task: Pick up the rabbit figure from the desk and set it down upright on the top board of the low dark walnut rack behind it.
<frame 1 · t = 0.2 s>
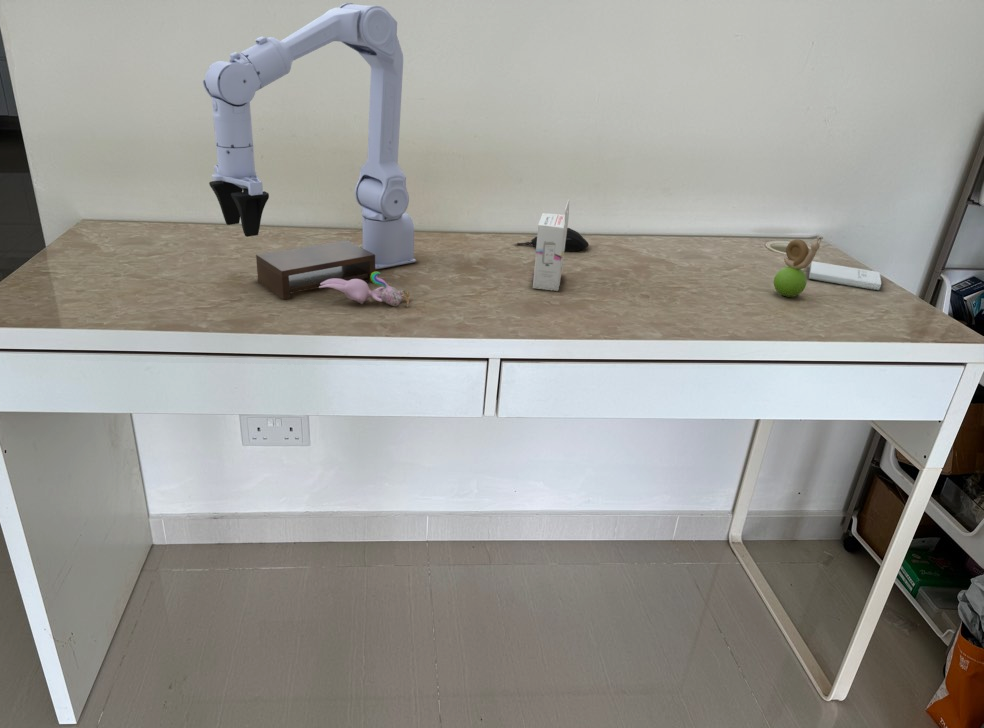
hand: (242, 229, 128), 10 cm above the table, tool pointing down, fingers open, 7 cm apart
rabbit figure: (365, 304, 129), on the table
rack: (317, 281, 137), on the table
snail figurine: (788, 297, 140), on the table
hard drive: (842, 280, 151), on the table
ink cartridge box: (546, 283, 141), on the table
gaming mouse: (552, 247, 161), on the table
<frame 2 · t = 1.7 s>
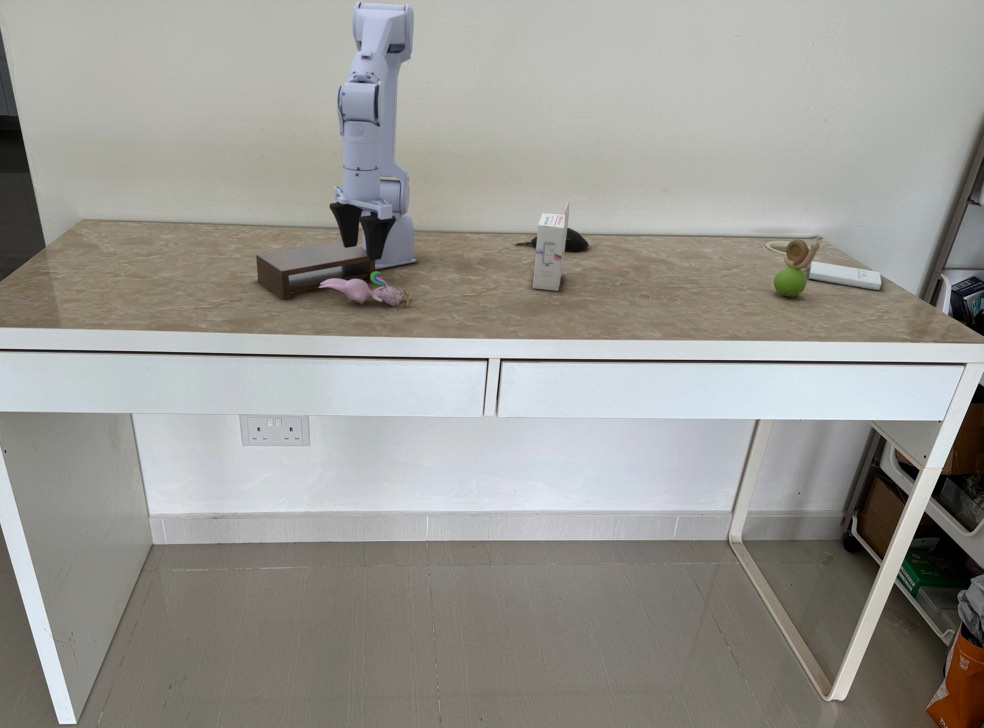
hand: (362, 252, 125), 9 cm above the table, tool pointing down, fingers open, 7 cm apart
nothing on the table moved.
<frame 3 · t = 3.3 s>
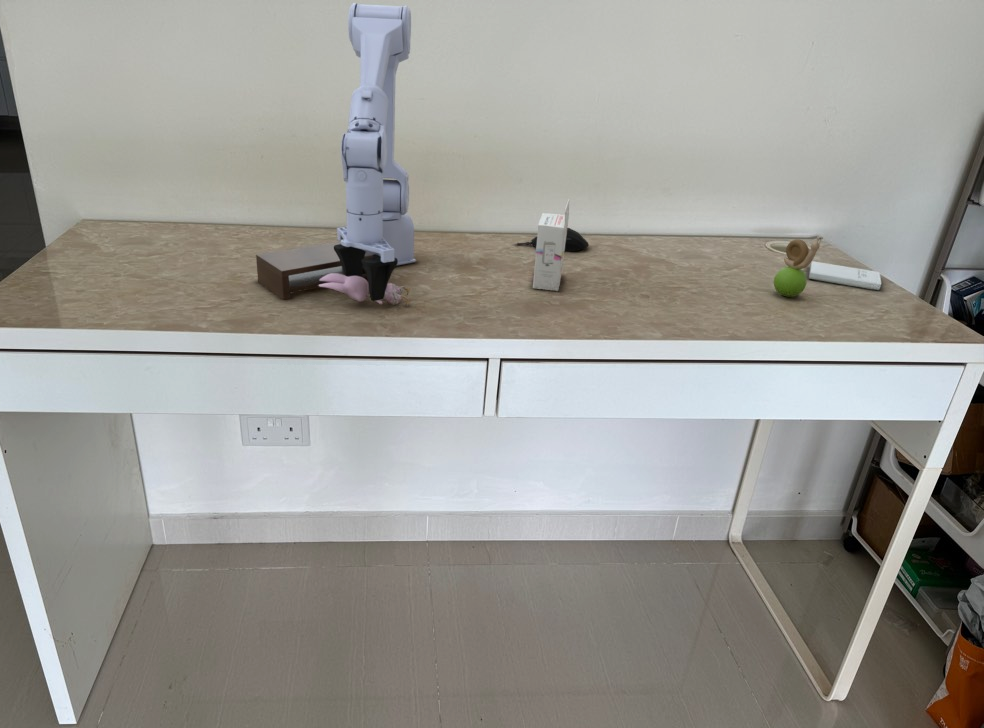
hand: (365, 292, 127), 2 cm above the table, tool pointing down, fingers closed on rabbit figure, 7 cm apart
rabbit figure: (364, 299, 129), on the table, touching gripper
everything else where it was.
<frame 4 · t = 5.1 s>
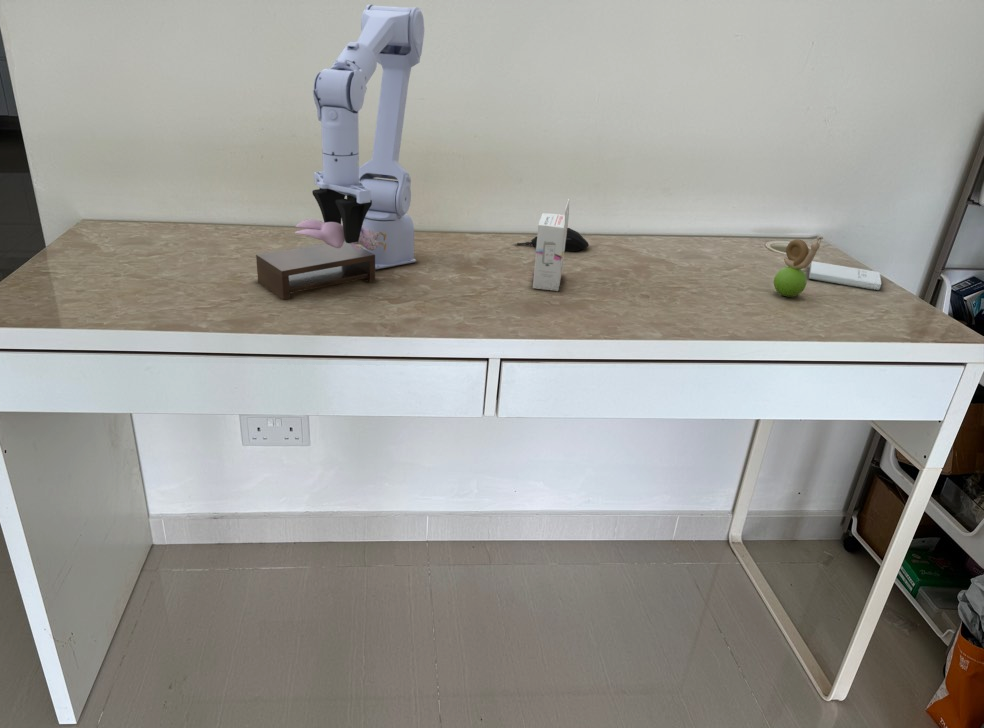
hand: (342, 237, 127), 10 cm above the table, tool pointing down, fingers closed on rabbit figure, 5 cm apart
rabbit figure: (341, 245, 129), point 8 cm above the table, touching gripper
everything else where it was.
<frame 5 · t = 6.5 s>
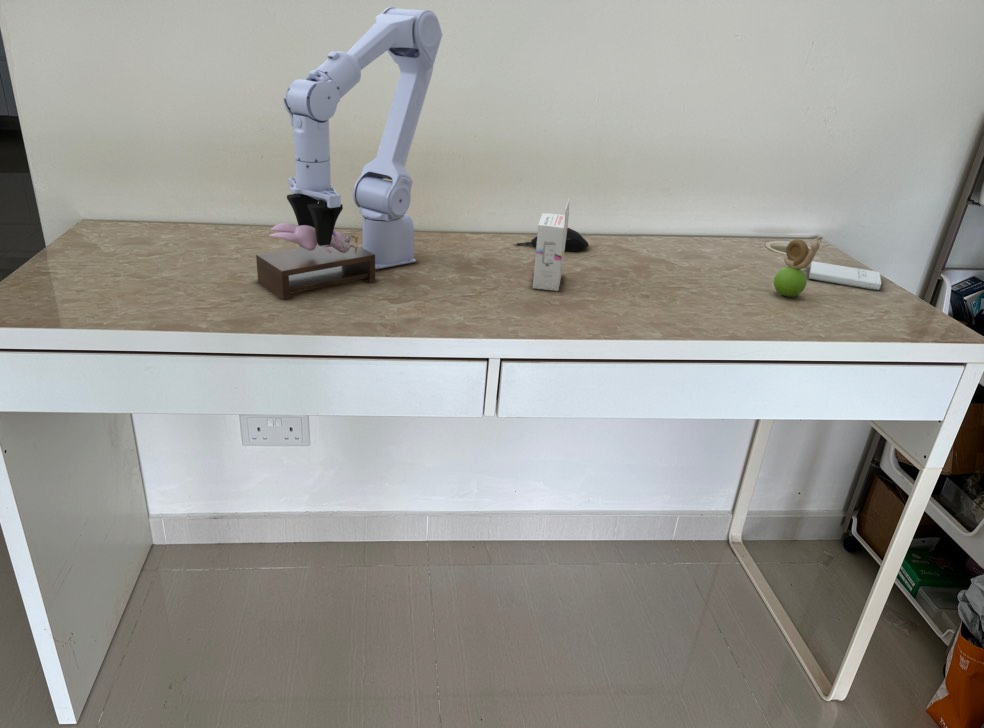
hand: (315, 240, 133), 8 cm above the table, tool pointing down, fingers closed on rabbit figure, 5 cm apart
rabbit figure: (315, 247, 134), point 6 cm above the table, touching gripper
everything else where it was.
when the fingers open (7 cm above the table, at t = 7.2 s): rabbit figure stays where it is, resting on rack.
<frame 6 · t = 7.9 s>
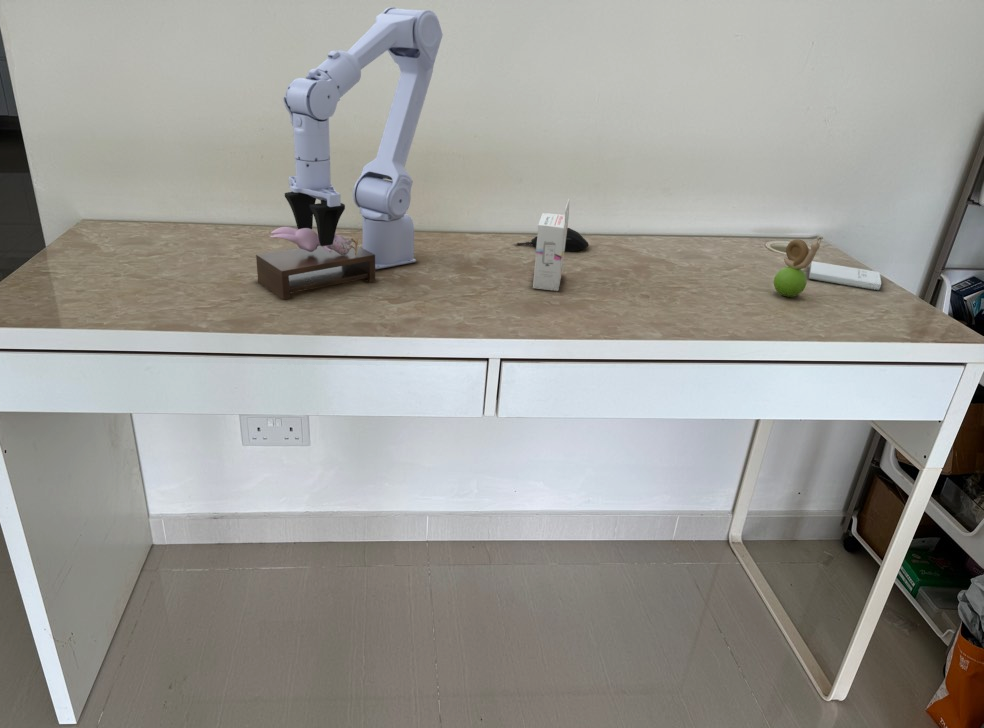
hand: (315, 239, 133), 8 cm above the table, tool pointing down, fingers open, 7 cm apart
rabbit figure: (315, 251, 135), point 5 cm above the table, touching rack
everything else where it was.
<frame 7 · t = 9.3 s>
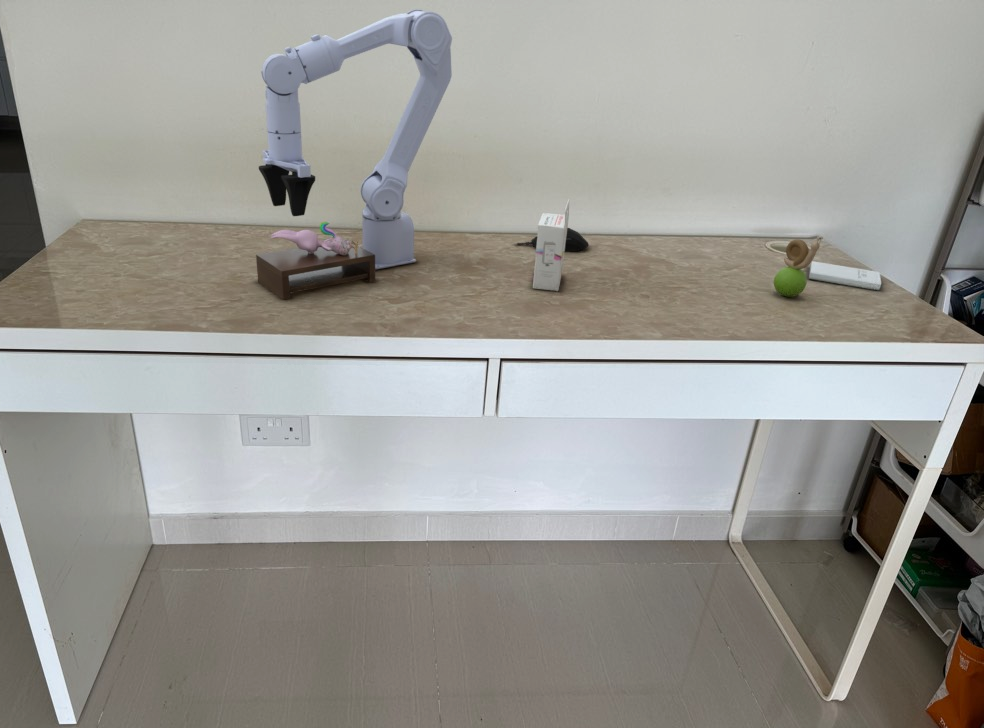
hand: (288, 210, 139), 10 cm above the table, tool pointing down, fingers open, 7 cm apart
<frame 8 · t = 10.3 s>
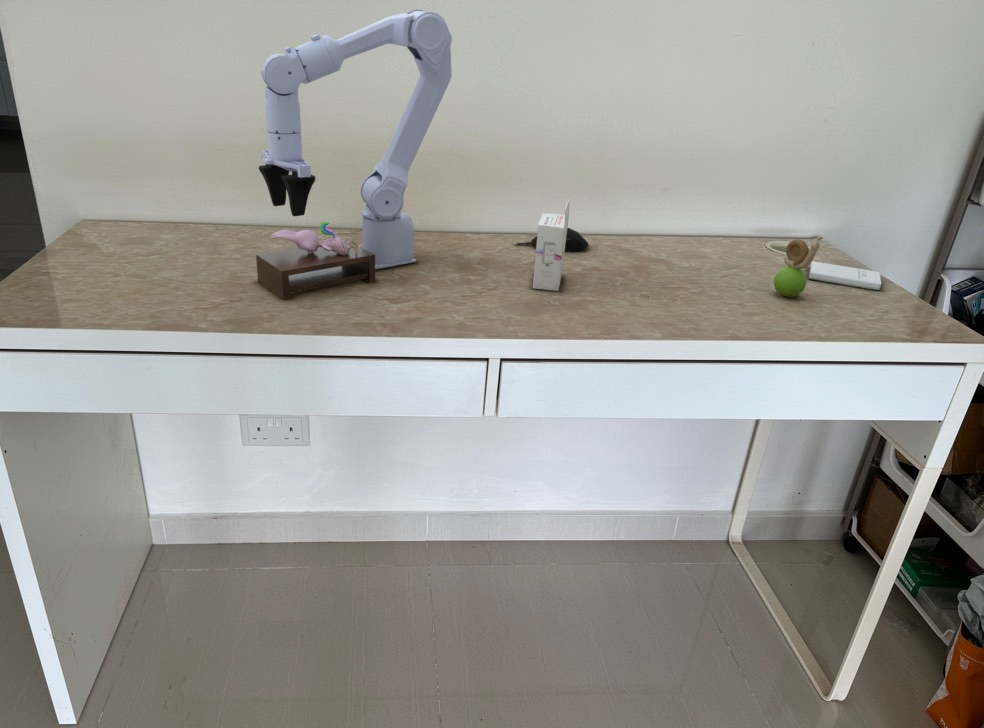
hand: (288, 210, 139), 10 cm above the table, tool pointing down, fingers open, 7 cm apart
nothing on the table moved.
at the end: rabbit figure inside the target area on the rack (0.9 cm from its centre), point 4.8 cm above the rack's base; the gripper is holding nothing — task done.
